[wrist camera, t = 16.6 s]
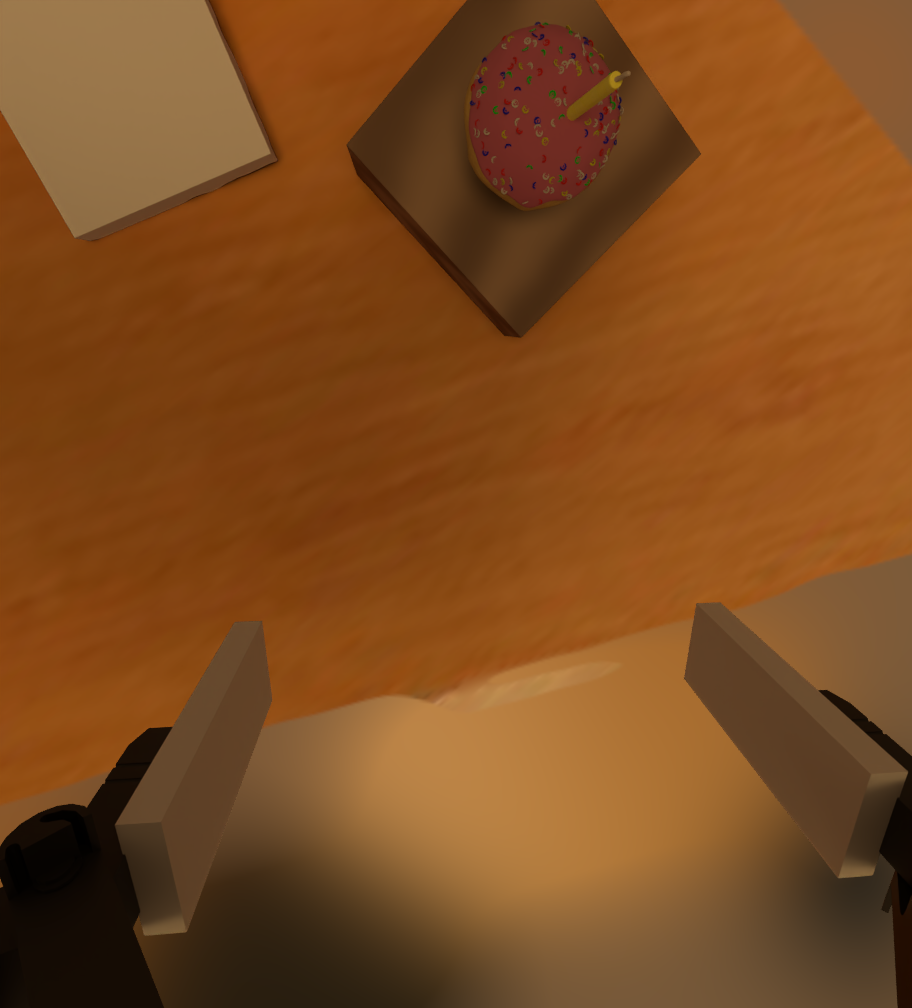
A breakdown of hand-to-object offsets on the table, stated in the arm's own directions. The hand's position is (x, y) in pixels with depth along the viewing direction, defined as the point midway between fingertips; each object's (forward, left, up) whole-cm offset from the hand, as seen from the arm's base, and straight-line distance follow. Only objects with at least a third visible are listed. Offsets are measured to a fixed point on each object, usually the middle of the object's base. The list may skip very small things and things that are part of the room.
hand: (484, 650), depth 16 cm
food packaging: (-35, +4, -32) cm, 48 cm away
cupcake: (-10, +18, -25) cm, 32 cm away
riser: (-10, +18, -32) cm, 38 cm away
